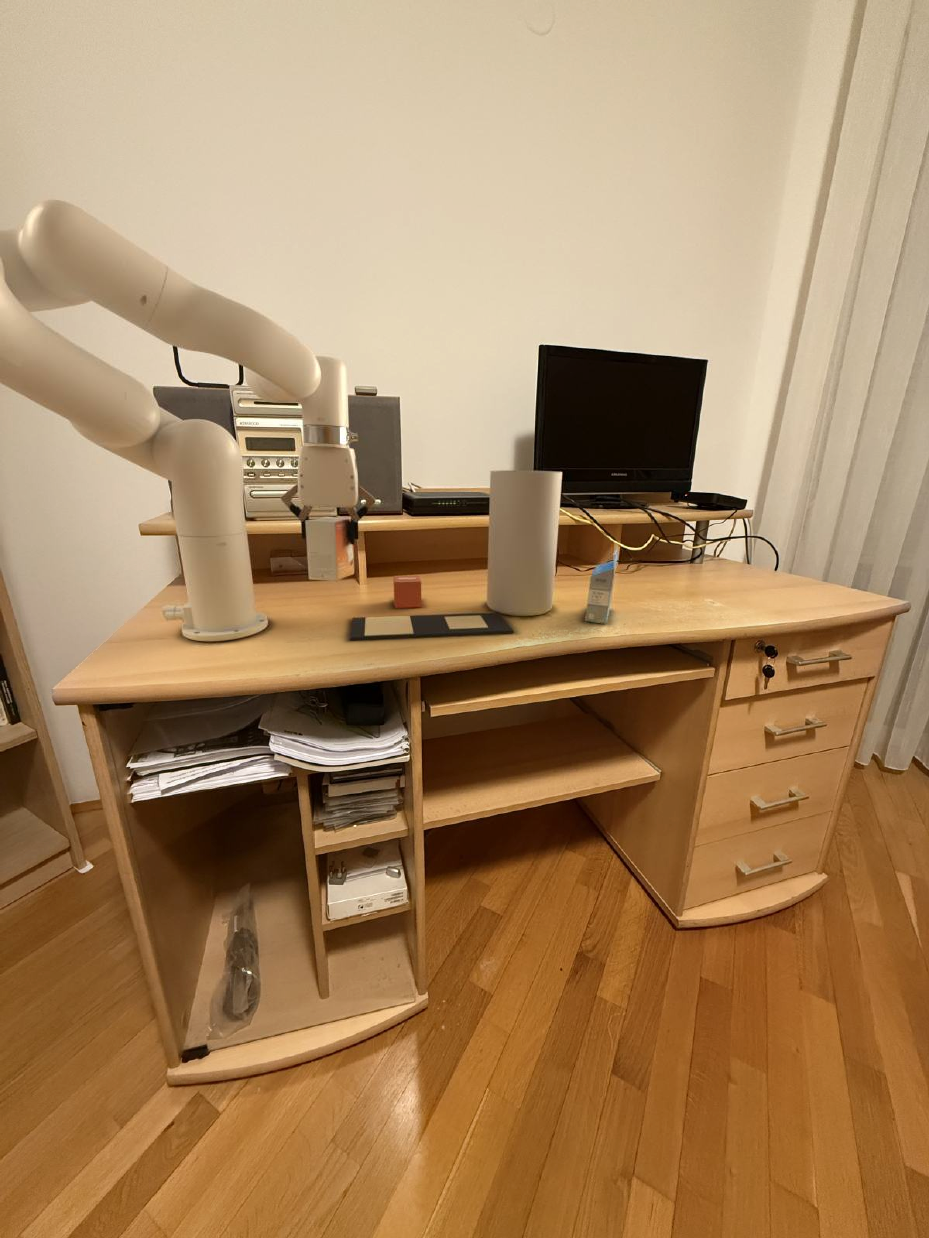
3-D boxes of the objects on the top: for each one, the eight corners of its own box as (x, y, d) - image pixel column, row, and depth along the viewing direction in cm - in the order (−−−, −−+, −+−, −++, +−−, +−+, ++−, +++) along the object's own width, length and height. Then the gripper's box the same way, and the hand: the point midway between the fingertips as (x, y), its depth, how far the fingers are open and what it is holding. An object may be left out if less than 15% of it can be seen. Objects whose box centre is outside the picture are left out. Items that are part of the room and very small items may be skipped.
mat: (350, 640, 75) (349, 636, 75) (352, 620, 85) (352, 617, 85) (513, 633, 80) (513, 629, 80) (498, 614, 89) (498, 611, 89)
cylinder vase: (478, 613, 90) (482, 471, 82) (495, 596, 101) (500, 470, 93) (546, 620, 86) (556, 473, 78) (556, 602, 98) (566, 471, 90)
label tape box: (589, 608, 94) (595, 544, 90) (611, 610, 93) (618, 546, 89) (584, 621, 86) (591, 552, 82) (608, 624, 85) (616, 554, 81)
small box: (337, 582, 86) (334, 521, 83) (307, 580, 87) (304, 520, 84) (355, 573, 94) (353, 517, 90) (328, 571, 95) (325, 516, 91)
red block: (395, 608, 92) (394, 581, 91) (394, 600, 97) (393, 575, 95) (421, 607, 93) (421, 581, 91) (419, 600, 98) (419, 575, 96)
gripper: (378, 442, 88) (379, 541, 94) (277, 437, 85) (284, 539, 91) (378, 440, 81) (379, 547, 87) (268, 435, 78) (276, 546, 83)
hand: (330, 542), depth 88 cm, fingers closed on small box, 7 cm apart
